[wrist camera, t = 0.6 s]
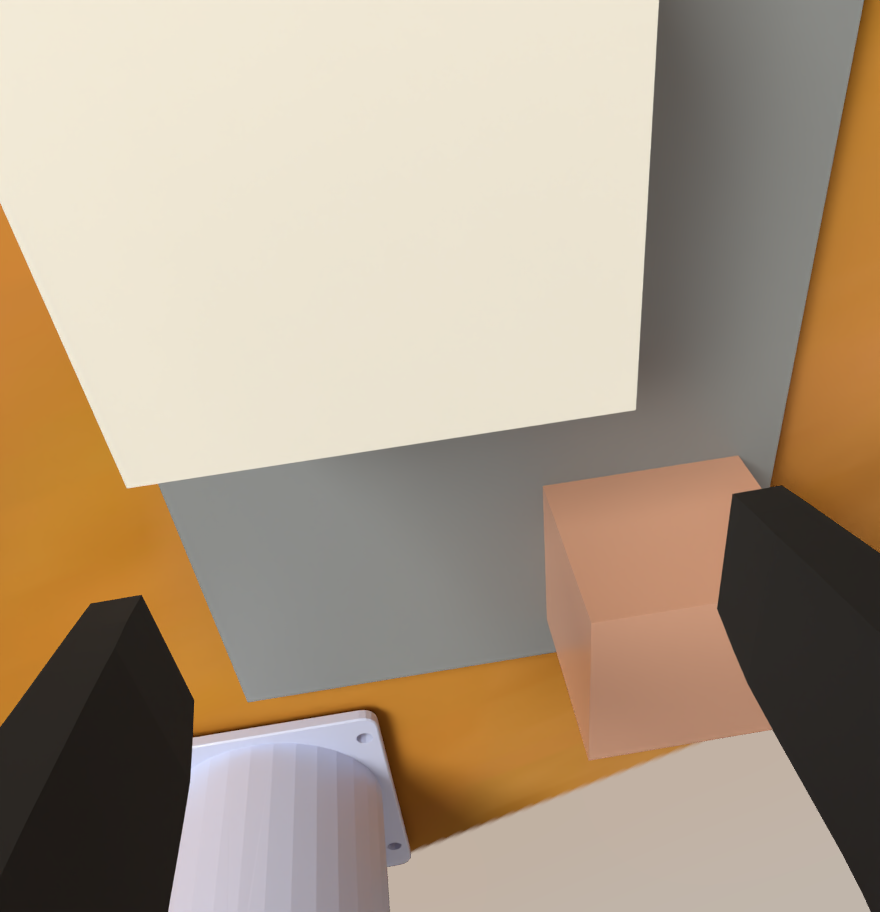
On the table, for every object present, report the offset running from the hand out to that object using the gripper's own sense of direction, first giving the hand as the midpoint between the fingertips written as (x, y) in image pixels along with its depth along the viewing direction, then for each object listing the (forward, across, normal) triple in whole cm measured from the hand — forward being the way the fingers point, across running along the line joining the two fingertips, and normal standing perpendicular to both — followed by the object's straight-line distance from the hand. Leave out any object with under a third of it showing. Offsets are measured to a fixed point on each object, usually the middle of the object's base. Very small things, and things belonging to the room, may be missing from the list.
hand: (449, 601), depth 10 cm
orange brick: (+8, -5, +8) cm, 13 cm away
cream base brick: (+8, 0, -4) cm, 9 cm away
